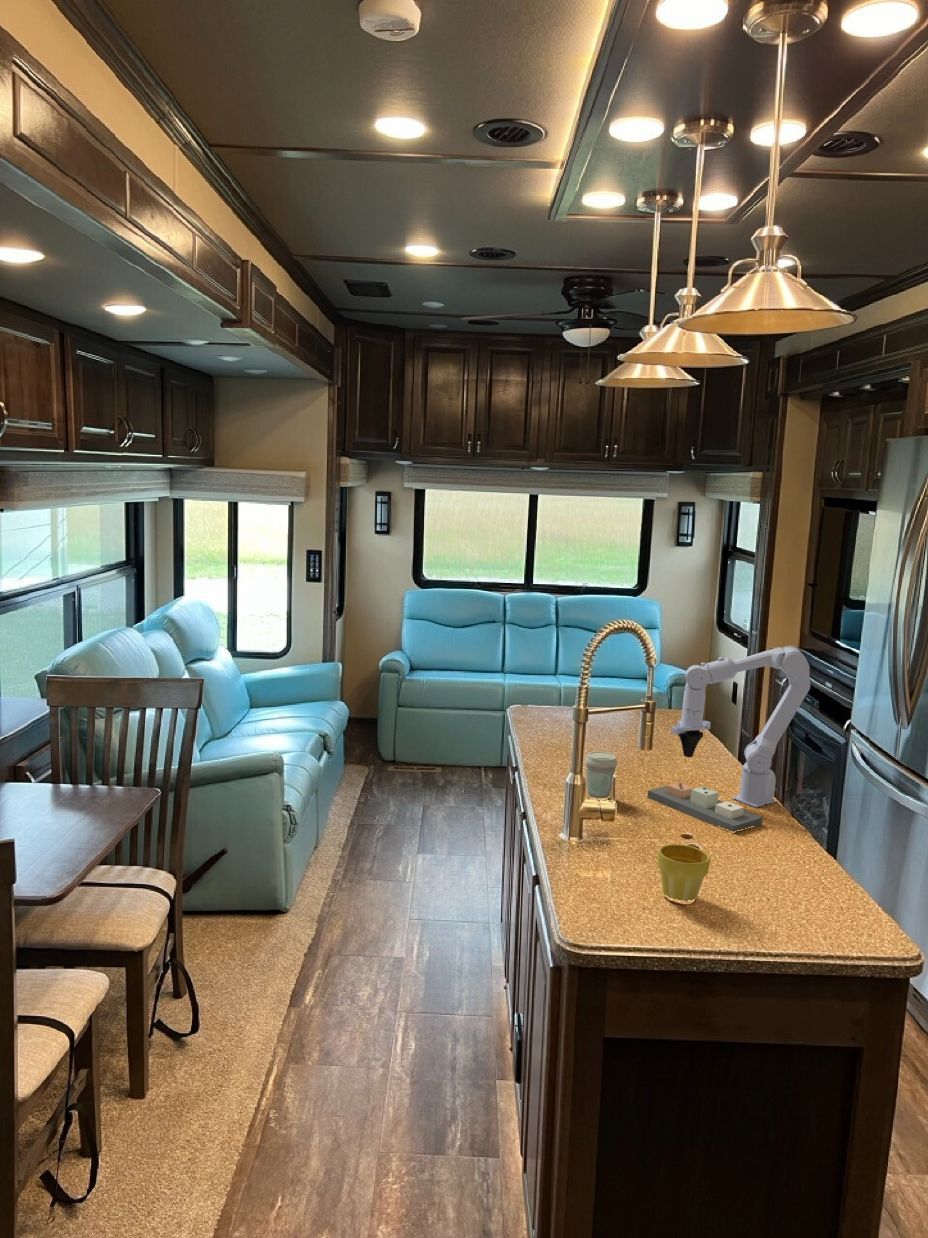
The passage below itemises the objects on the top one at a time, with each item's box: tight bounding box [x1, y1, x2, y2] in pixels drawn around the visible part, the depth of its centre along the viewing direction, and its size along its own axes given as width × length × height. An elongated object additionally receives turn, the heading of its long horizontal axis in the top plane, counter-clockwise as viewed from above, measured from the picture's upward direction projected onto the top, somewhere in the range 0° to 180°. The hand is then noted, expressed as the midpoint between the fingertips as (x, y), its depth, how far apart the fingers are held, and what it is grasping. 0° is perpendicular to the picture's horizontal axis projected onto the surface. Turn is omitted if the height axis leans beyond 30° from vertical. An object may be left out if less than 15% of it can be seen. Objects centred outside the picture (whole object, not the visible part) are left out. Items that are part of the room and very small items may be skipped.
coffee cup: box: [585, 750, 618, 798], centre depth 242 cm, size 8×8×12 cm
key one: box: [715, 801, 745, 819], centre depth 232 cm, size 5×5×4 cm
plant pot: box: [657, 843, 711, 901], centre depth 187 cm, size 10×10×10 cm
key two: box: [690, 786, 720, 809], centre depth 238 cm, size 5×5×4 cm
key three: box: [666, 781, 695, 799], centre depth 245 cm, size 5×5×4 cm
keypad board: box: [646, 785, 763, 832], centre depth 239 cm, size 12×28×2 cm, turn 37°
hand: (687, 756), depth 251 cm, fingers closed
